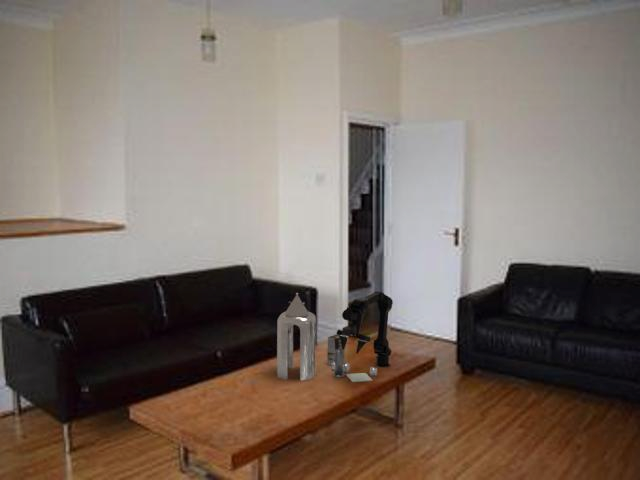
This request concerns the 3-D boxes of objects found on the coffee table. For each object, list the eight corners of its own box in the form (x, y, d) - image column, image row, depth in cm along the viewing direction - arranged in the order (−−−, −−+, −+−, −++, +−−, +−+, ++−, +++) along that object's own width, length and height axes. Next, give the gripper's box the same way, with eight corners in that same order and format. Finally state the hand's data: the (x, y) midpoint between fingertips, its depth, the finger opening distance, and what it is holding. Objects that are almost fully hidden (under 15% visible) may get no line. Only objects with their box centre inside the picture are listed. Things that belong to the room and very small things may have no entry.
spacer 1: (337, 368, 327) (338, 361, 326) (339, 370, 323) (339, 363, 322) (331, 368, 326) (331, 361, 325) (332, 370, 322) (332, 363, 321)
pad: (365, 373, 317) (365, 372, 317) (372, 380, 307) (372, 379, 307) (346, 375, 315) (346, 374, 315) (352, 382, 304) (352, 381, 304)
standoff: (342, 373, 317) (343, 348, 315) (345, 377, 311) (346, 351, 310) (332, 374, 316) (332, 348, 314) (334, 378, 310) (335, 352, 308)
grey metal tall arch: (316, 368, 325) (317, 290, 320) (312, 381, 305) (313, 297, 300) (281, 366, 327) (281, 288, 322) (274, 379, 307) (275, 296, 302)
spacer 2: (348, 369, 324) (348, 362, 323) (350, 372, 320) (350, 365, 320) (341, 370, 323) (341, 363, 323) (343, 372, 319) (343, 365, 319)
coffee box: (335, 366, 329) (336, 339, 327) (326, 364, 333) (327, 336, 331) (345, 362, 336) (345, 335, 335) (336, 360, 340) (336, 333, 338)
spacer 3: (375, 373, 318) (375, 366, 318) (377, 376, 314) (378, 369, 314) (368, 374, 317) (368, 367, 317) (370, 376, 313) (371, 369, 313)
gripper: (333, 317, 309) (327, 346, 307) (362, 323, 297) (356, 353, 295) (345, 320, 318) (339, 348, 315) (373, 326, 306) (367, 355, 304)
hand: (349, 351), depth 307 cm, fingers open, 9 cm apart
